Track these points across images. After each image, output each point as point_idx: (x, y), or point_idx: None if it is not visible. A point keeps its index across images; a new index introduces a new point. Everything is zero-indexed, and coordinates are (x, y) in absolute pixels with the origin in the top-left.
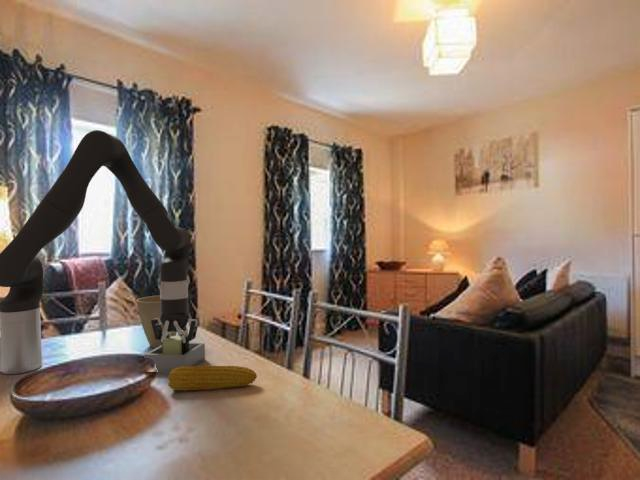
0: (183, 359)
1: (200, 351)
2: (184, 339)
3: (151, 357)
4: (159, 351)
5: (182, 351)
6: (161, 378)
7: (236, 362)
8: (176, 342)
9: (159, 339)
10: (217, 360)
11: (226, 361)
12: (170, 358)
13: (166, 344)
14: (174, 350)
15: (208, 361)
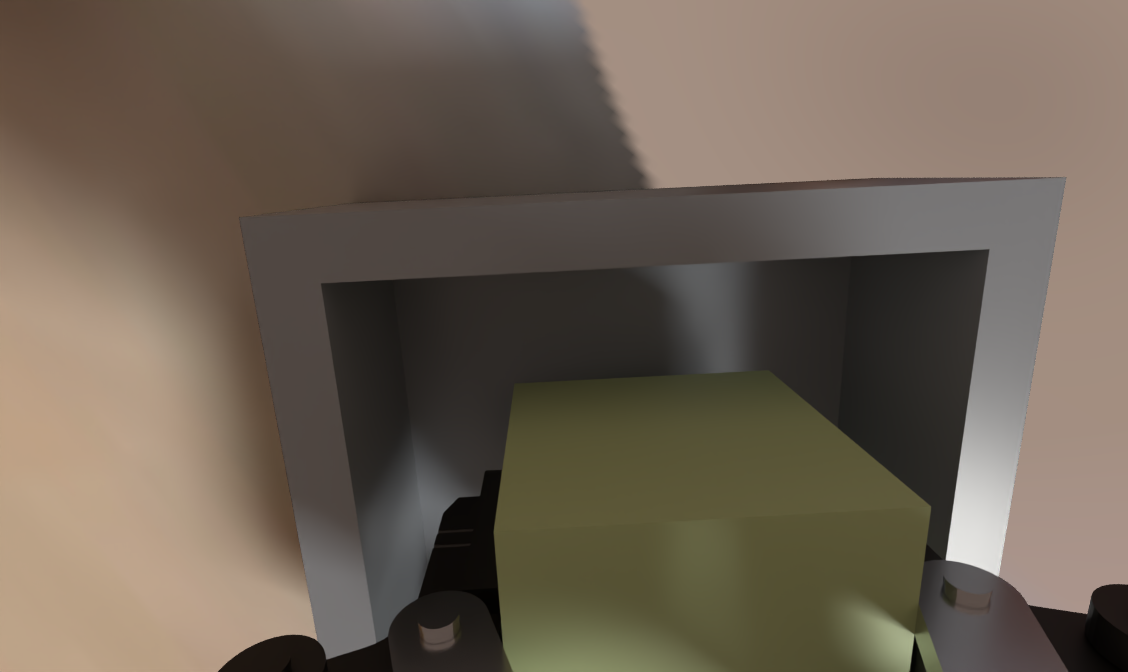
0: (293, 212)
1: None
2: (409, 652)
3: (892, 184)
4: None
5: None
6: (561, 25)
7: (14, 633)
8: (555, 514)
9: (1066, 618)
10: None
11: (143, 639)
12: (535, 201)
13: (794, 475)
14: (596, 430)
15: None
